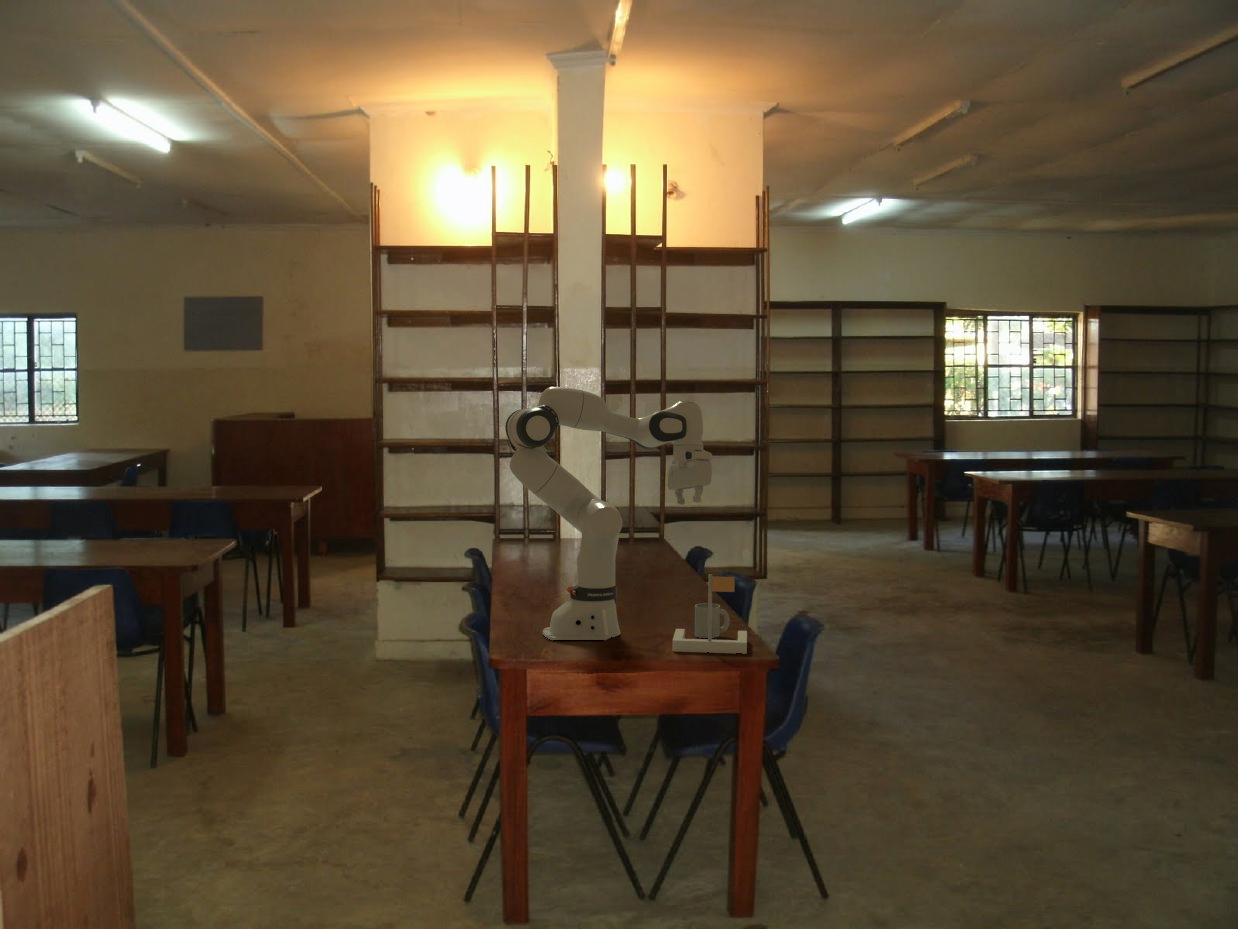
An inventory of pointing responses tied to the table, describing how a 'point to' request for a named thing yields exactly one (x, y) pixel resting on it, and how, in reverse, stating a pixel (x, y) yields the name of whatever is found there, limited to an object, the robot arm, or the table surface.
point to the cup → (702, 620)
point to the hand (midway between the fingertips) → (688, 503)
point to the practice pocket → (708, 644)
